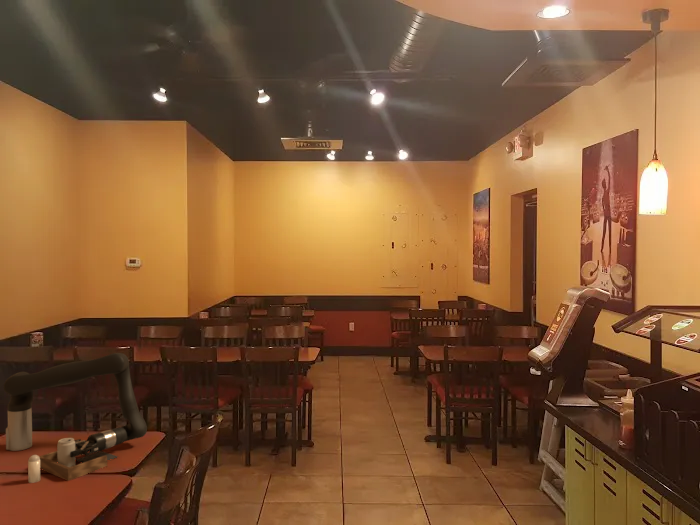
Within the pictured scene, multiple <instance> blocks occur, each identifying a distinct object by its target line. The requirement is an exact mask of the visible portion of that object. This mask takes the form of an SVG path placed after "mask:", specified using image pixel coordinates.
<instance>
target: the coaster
mask: <svg viewBox="0 0 700 525" xmlns="http://www.w3.org/2000/svg"><path fill="white" fill-rule="evenodd" d="M105 455H106V456H107V460H110V459H113V460H115V459H114V458H116V459H118V458H119V456H117V455H115V454H112V453H109V452H106V451H104V450H102V451H99V452H96V453H92V454H89V455H87V456H85V455H84V456H81V457H78V458H75V460H77V461H76V462H78V461H79V462H78V463H80V462H82V463H84V462H87V461H90V460H93V459H96V458H99V457H102V456H105ZM117 457H118V458H117ZM110 461H111V460H110Z"/></svg>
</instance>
